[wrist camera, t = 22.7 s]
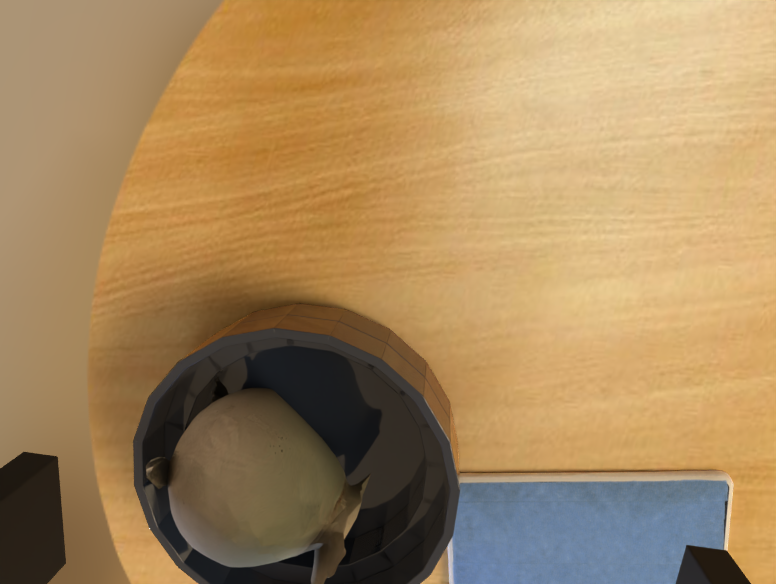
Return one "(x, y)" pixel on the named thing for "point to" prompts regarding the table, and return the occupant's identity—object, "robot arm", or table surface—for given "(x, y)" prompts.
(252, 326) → the dark grey dish
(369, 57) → the table surface
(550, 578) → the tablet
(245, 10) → the table surface
